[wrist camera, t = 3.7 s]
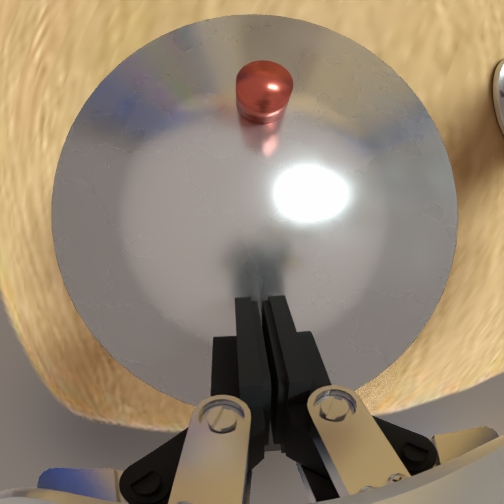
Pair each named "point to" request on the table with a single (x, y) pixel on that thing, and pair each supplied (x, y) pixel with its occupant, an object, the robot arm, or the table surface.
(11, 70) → the table surface
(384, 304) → the lid
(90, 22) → the table surface
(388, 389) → the table surface
